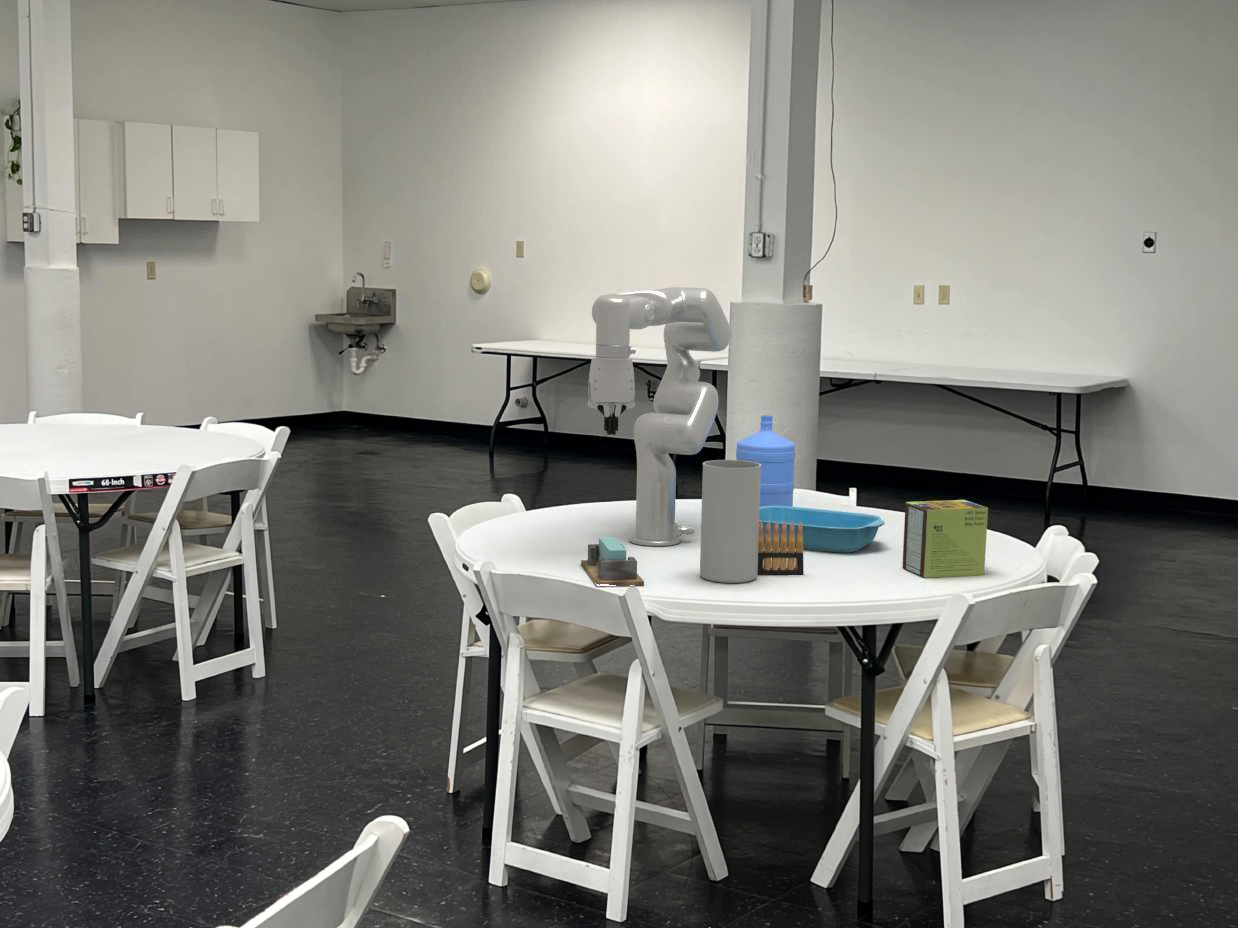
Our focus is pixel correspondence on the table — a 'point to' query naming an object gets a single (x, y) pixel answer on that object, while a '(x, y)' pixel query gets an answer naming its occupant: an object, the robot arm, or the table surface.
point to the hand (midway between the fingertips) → (610, 433)
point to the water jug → (770, 463)
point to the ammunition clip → (782, 559)
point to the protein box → (945, 538)
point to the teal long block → (611, 549)
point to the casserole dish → (824, 527)
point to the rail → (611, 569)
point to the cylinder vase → (730, 521)
